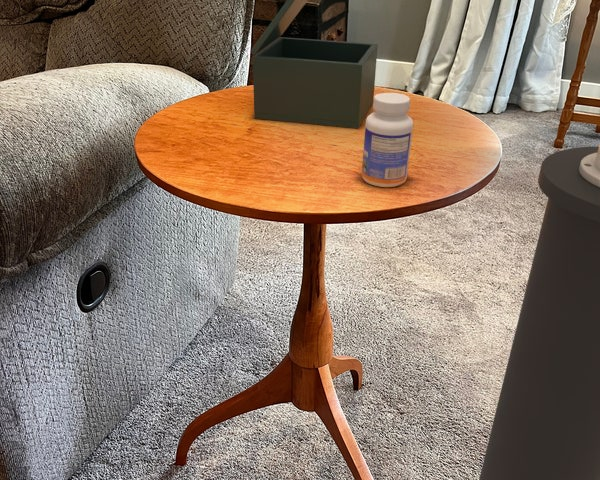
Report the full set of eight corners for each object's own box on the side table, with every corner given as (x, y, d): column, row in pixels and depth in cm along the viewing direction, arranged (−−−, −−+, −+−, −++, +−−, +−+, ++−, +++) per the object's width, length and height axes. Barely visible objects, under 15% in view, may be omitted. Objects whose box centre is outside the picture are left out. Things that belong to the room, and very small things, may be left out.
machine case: (373, 101, 103) (377, 43, 98) (358, 128, 92) (362, 64, 87) (279, 93, 106) (279, 36, 101) (254, 118, 95) (252, 56, 90)
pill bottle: (366, 168, 80) (372, 88, 74) (410, 173, 78) (419, 93, 73) (356, 184, 75) (362, 101, 70) (402, 191, 74) (411, 106, 69)
